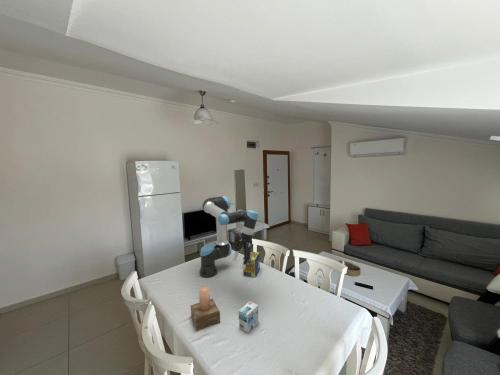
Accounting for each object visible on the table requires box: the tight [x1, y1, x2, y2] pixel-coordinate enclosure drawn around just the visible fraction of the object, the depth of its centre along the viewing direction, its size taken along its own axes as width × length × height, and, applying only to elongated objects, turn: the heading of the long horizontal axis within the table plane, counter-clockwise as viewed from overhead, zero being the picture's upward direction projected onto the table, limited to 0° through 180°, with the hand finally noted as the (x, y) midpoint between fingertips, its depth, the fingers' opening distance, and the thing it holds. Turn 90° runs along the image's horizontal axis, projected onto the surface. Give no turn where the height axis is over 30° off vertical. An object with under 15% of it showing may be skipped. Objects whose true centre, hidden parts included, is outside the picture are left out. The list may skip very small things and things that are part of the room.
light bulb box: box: [238, 301, 260, 334], centre depth 125 cm, size 11×7×11 cm, turn 143°
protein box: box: [242, 250, 261, 279], centre depth 185 cm, size 10×15×16 cm
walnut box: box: [190, 298, 221, 331], centre depth 131 cm, size 14×14×7 cm
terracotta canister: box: [198, 285, 211, 311], centre depth 130 cm, size 6×6×12 cm
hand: (238, 264), depth 145 cm, fingers open, 13 cm apart
